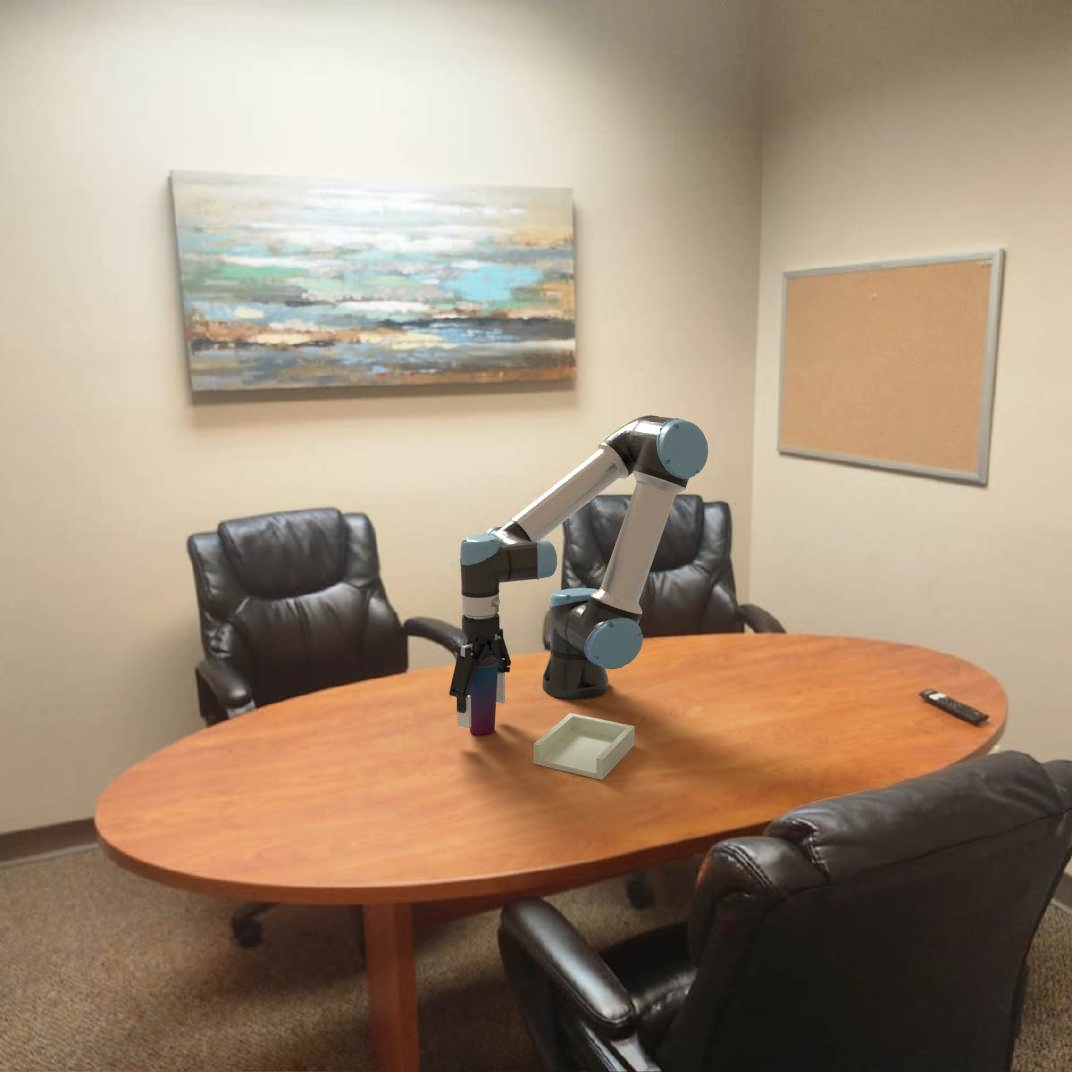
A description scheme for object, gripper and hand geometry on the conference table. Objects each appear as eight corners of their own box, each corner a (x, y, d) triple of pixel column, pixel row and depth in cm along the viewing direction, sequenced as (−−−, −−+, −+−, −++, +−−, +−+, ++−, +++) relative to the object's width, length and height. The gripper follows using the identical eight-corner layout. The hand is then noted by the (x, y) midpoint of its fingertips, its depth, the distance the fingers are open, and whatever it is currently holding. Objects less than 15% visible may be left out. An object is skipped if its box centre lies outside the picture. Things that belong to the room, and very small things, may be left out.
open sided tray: (533, 763, 166) (533, 743, 165) (570, 731, 180) (570, 712, 179) (602, 780, 160) (602, 759, 159) (634, 745, 174) (634, 726, 173)
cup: (459, 733, 179) (457, 663, 176) (476, 721, 185) (475, 653, 182) (488, 740, 176) (487, 669, 173) (505, 727, 182) (504, 658, 179)
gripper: (463, 634, 163) (465, 741, 167) (526, 600, 184) (527, 695, 189) (429, 628, 166) (432, 733, 170) (495, 595, 188) (496, 689, 192)
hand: (482, 713), depth 180 cm, fingers open, 13 cm apart
